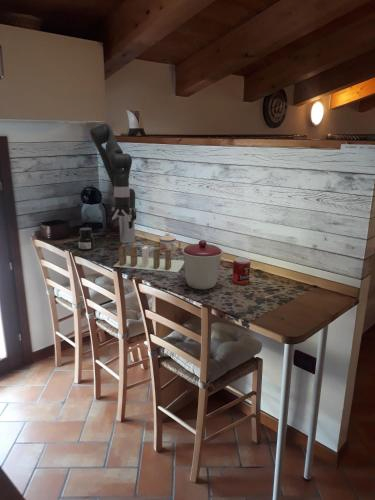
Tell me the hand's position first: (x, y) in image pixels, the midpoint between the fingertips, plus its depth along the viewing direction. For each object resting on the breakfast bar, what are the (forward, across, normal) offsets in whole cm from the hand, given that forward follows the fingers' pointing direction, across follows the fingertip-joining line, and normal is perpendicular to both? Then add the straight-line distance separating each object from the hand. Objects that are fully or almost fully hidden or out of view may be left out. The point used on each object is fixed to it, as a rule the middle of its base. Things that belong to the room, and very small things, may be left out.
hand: (122, 227), depth 195 cm
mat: (+20, +12, +6) cm, 24 cm away
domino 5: (+19, +24, +3) cm, 31 cm away
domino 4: (+19, +18, +2) cm, 26 cm away
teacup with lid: (+20, +14, +27) cm, 36 cm away
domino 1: (+19, 0, -1) cm, 19 cm away
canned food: (+20, +62, 0) cm, 65 cm away
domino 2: (+19, +6, 0) cm, 20 cm away
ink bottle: (+20, -34, +17) cm, 43 cm away
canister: (+20, +46, -12) cm, 51 cm away
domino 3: (+19, +12, +1) cm, 23 cm away
